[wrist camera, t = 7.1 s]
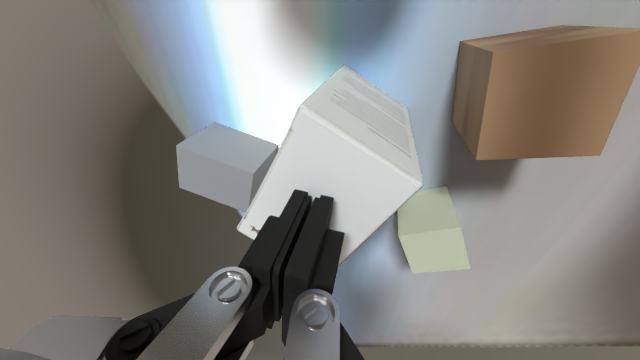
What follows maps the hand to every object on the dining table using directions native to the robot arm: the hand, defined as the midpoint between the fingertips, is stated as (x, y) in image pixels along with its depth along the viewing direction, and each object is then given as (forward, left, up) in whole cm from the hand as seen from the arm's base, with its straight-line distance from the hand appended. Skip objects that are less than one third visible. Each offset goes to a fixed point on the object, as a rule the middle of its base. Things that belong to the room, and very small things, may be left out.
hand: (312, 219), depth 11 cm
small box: (0, 0, -11) cm, 11 cm away
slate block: (+9, +4, -11) cm, 15 cm away
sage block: (-8, +6, -11) cm, 15 cm away
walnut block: (-9, -5, -11) cm, 15 cm away
